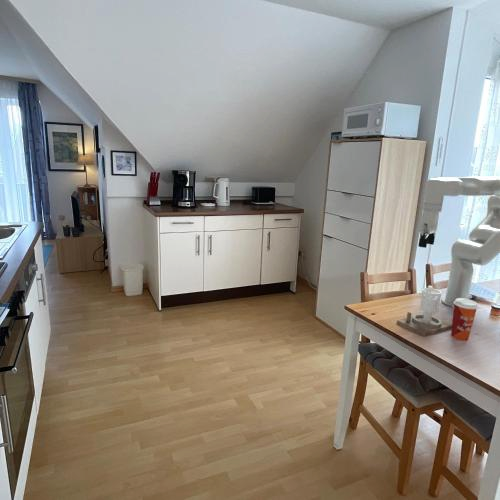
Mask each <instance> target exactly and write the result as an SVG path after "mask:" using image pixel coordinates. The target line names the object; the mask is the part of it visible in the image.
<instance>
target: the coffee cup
mask: <svg viewBox="0 0 500 500" xmlns="http://www.w3.org/2000/svg"><path fill="white" fill-rule="evenodd" d="M478 309H479V306H478V303H477V302H476V301H475V300H471V299H470V298H469V299H465V298H457V299H456V300H455V301H454V307H453V313H452V321H451V322H452V328H451V329H450V331H451V332H450V336H451V337H452V338H453V339H455V340H458V341H462V342H463V341H465V342H466V341H468V340H469V338H470V334H471V330H472V328H473V325H474V320H475V317H476V312H477V310H478Z"/></svg>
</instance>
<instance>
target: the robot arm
mask: <svg viewBox="0 0 500 500" xmlns="http://www.w3.org/2000/svg"><path fill="white" fill-rule="evenodd" d="M444 196H445V197H459V196H465V197H466V196H467V197H477V196H478V197H480V196H489V197H488V200H487V207H486V210H487V211H486V215H485V217H484V218H483V219H482V220H481V221H480V222H479V223H478V224H477V225H476V226H474V228H473V229H472V230H471V232H470V233H469V234H468V235H469V236H468V239H469V240H468V239H459V240H456V241H455V242H454V243H453V244H452V246H451V251H450V252H451V264H450V269H449V275H448V279H447V280H448V282H447V287H446V292H445V296H442V297H441V298H440V302H441V303H443V304H445V305H446V306H449V307H452V308H454V301H455V300H456V299H457V298H465V299H469V300H470V299H472V298H473V295H472V294H470V291H471V286H472V280H473V275H474V266H473V265H477V266H486V265H488V264H490V263H491V262H492V261H493V260H494V259H495V258H496V257H497V256H498V255H499V254H500V176H462V177H437V178H428V179H426V183H425V190H424V197H423V203H422V209H421V210H422V214H421V218H420V222H419V228H418V233H420V234H419V241H418V245H417V246H418V247H419V248H423V249H426V248H427V246H428V245H432V246H433V245H434V244H435V239H436V238H435V237H436V232H437V230H438V226H439V224H438V223H439V215H440V213H441V212H442V211H443V210H442V209H443V203H444Z"/></svg>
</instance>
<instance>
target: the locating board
mask: <svg viewBox="0 0 500 500" xmlns="http://www.w3.org/2000/svg"><path fill="white" fill-rule="evenodd" d="M423 316H424V312H423V313H414V314H413V315H412V311H407V313H406V317H404V318H401V319H397V321H396V324H397V325H400V326H401V327H404V328H406V329H408V330H410V331H412V332H414V333H416V334H418V335H420V336H422V337H427V336H431V335H434V334H438V333H441V332H444V331H447V330H448V331H449V330H451V329H452V321H450V320H448V319H445V318H443V317H441V316H439V315H435V313H432V318H431V323H429V324H428V323H424V322H423Z"/></svg>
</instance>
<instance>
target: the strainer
mask: <svg viewBox="0 0 500 500" xmlns="http://www.w3.org/2000/svg"><path fill="white" fill-rule="evenodd" d="M433 292H434V293H433ZM441 299H442V291H441V290H439V289H436V288H434V287H433V286H432V285H428V286H427V287H424V288H422V291H421V297H420V303H419V304H420V305H419V310H421V311H422V312H423V313H424V316H423V322H424V323H428V324H429V323H431V318H432V314H437V313H439V309H440V302H441Z"/></svg>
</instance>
